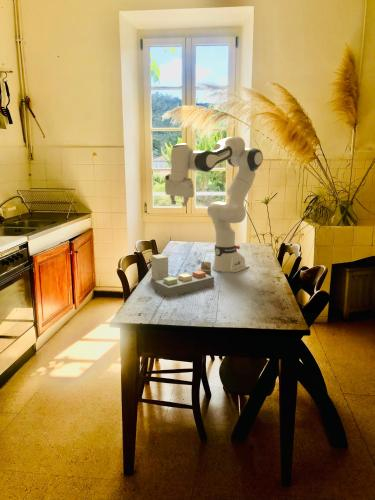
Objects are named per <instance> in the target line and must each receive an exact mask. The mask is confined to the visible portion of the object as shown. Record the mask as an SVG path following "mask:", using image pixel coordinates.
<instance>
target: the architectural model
mask: <svg viewBox="0 0 375 500" xmlns="http://www.w3.org/2000/svg"><path fill="white" fill-rule="evenodd" d="M199 270H200V271H203V272H206V274H207V275H210V276H212V263H211V261H201V263H200V267H198V268H197V271H199Z"/></svg>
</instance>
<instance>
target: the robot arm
mask: <svg viewBox="0 0 375 500" xmlns="http://www.w3.org/2000/svg"><path fill="white" fill-rule="evenodd" d="M263 160H264V155H263V153H262V151H261V150H260V149H258V148H254V147H253V148H252V147H246V143H245V140H244V138H242V137H241V136H229V137H226V138H223V139H220V140H219V141H217V142H216V143H215V144H214V147H213V151H211V150H194V149H192V148H190V146H189V145H188V143H177V144H174V145H173V146H172V147H171V151H170V165H171V169H170V172H169V174H167V175H165V176H164V180H165V183H164V192H165V194H166V195H168V196H169V197H170V200H171V205H176V204H177V200H175V199H176V198H175V197H182V198H183V202H182V203H181V204H182V207H187V205H188V201H189V199H190V198H194V196H195V188H194V187H195V186H194V183H193V182H194V181H193V180H192V179H191V178H190V177H189V171H195V172H197V171H198V172H205V173H206V172H207V173H208V172H210V171H212V170H213V169H214V168H215V167H216V166H217V165H219V164H220V163H222V162H224V161H227V163H228V165H230V166H232V167H235V168H236V167H237V168H238V172H237V173H236V174H235V176H234V177H233V178H232V181H231V183H230V185H229V186H228V187H227V195H228V200H227V201H220V200H219V201H213V202H210V204H209V205H208V206H207V211H206V212H207V215H208V216H209V218H210V219H211V221H212V223H213V225H214V226H213V227H214V230H215V244H214V260H213V265H212V266H211V270H214V271H216V272H223V273H237V272H240V271H243V270H245V269H248V268H250V266H249V264H247V263H246V259H245V256H243V255H242V254H241V253H240V252H238V250H239V249H241V245H238V244H236V243H235V242H236V233H235V230H234V229H233V227H232V226H231V224H239V223H242V222H243V221H245V218H246V215H247V212H246V208H245V207H244V206H245V205H244V203H245V199H246V198H247V195H248V193H249V191H250V190H251V187H252V185H253V183H254V181H255V177H256V171H257V170H258V169H259V167H260V166H261V165H262V163H263ZM230 223H231V224H230ZM235 244H236V245H235ZM237 249H238V250H237Z"/></svg>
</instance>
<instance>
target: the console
mask: <svg viewBox="0 0 375 500" xmlns="http://www.w3.org/2000/svg"><path fill="white" fill-rule="evenodd" d="M188 274H189V275H191V276H192V280H189V281H185V282H184V281H181V280H179V279H178V276H174V278H176V279H177V283H176V284H172V285H167V284H165V283H164V282H163V280H159V281H155V280H154V290H155V291H156V292H158V291H159V292H158V293H160V294H163V296H166V297H169V298H171V297H175V296H178V295H181V294H185V293H191V292H193V291H197V290H201V289H202V290H203V289H206V288H209V287H214V286H215V276H214V275H213V276H212V275H210V274H206V277H202V278H196V277H194V276H193V272H191V273H188Z"/></svg>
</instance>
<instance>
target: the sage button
mask: <svg viewBox="0 0 375 500" xmlns="http://www.w3.org/2000/svg"><path fill="white" fill-rule="evenodd" d="M174 277H175V276H174ZM174 277H173V276H168V277H167V278H163V282H164V283H165V284H167V285H172V284H176V283H177V279H176V278H174Z"/></svg>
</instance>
